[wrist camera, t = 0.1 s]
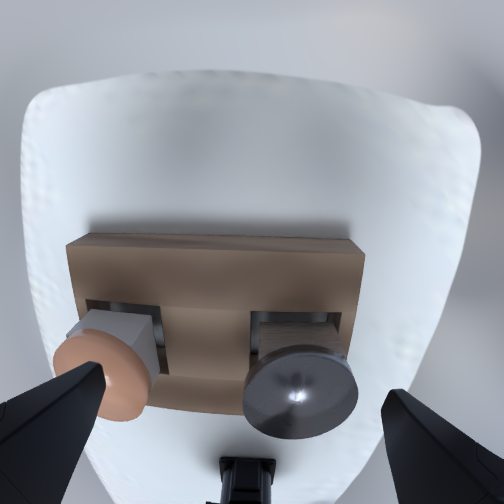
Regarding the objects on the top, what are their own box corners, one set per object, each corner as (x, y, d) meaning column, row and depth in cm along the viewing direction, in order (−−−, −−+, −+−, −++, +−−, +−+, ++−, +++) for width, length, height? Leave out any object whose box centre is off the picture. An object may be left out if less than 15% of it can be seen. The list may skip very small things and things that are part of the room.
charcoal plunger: (331, 385, 21) (344, 436, 16) (245, 385, 21) (242, 438, 16) (346, 311, 19) (369, 359, 14) (247, 310, 19) (242, 360, 14)
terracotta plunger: (171, 379, 21) (153, 429, 16) (98, 368, 21) (70, 409, 16) (161, 305, 19) (133, 350, 14) (80, 297, 19) (41, 333, 14)
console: (326, 388, 26) (332, 414, 22) (116, 373, 26) (102, 396, 23) (350, 239, 21) (365, 254, 18) (89, 233, 22) (65, 245, 19)
